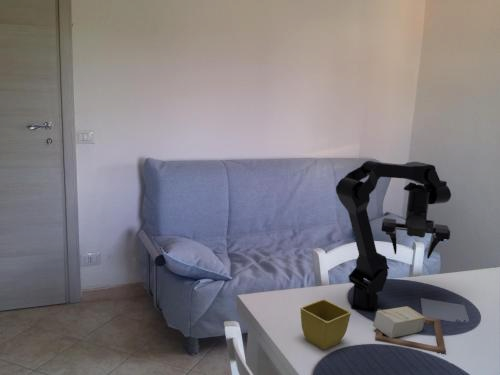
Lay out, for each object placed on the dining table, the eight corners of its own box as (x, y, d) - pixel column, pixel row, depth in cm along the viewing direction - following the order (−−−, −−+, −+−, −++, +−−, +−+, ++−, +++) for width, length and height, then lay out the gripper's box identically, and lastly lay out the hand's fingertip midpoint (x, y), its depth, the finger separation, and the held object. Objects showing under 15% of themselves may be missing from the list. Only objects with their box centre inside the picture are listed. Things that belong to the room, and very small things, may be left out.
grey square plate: (422, 318, 122) (422, 316, 122) (420, 299, 133) (420, 298, 133) (470, 326, 119) (470, 324, 119) (464, 307, 130) (464, 305, 130)
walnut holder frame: (374, 343, 109) (375, 337, 109) (377, 313, 124) (377, 308, 124) (445, 357, 104) (445, 351, 104) (439, 324, 119) (439, 319, 119)
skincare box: (426, 317, 114) (396, 322, 107) (421, 332, 115) (391, 339, 108) (406, 305, 119) (376, 309, 112) (402, 320, 120) (372, 325, 113)
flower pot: (321, 330, 114) (323, 298, 112) (348, 346, 107) (351, 311, 105) (297, 341, 108) (299, 307, 106) (324, 358, 102) (327, 322, 100)
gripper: (383, 208, 125) (378, 260, 128) (455, 216, 119) (448, 270, 123) (384, 199, 135) (379, 248, 138) (451, 206, 130) (444, 257, 133)
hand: (411, 256), depth 133 cm, fingers open, 9 cm apart
